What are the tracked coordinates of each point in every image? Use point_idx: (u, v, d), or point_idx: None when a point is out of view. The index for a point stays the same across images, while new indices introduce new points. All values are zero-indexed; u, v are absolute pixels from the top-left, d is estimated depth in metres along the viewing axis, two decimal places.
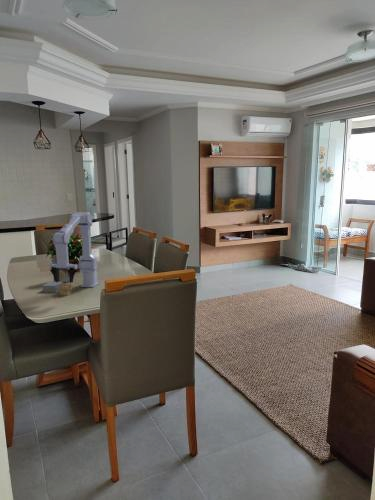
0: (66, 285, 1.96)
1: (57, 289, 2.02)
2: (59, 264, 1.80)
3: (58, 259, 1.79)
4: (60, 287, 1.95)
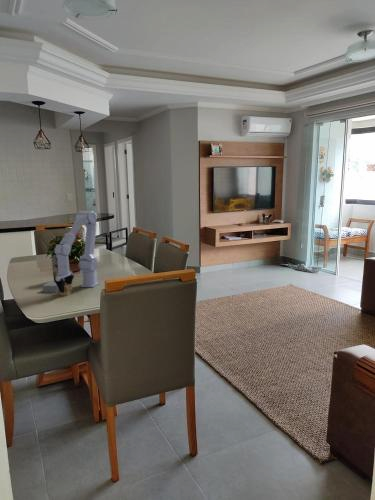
0: (66, 285, 1.96)
1: (57, 289, 2.02)
2: None
3: None
4: None
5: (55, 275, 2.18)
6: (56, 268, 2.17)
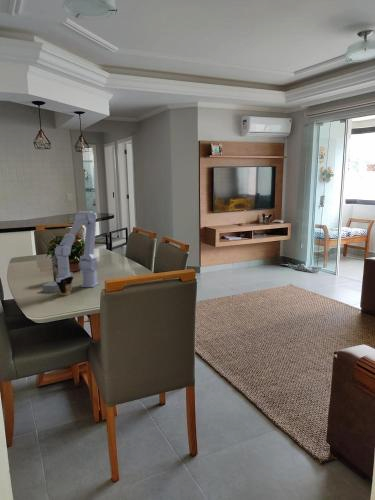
0: (66, 285, 1.96)
1: (56, 289, 2.02)
2: None
3: None
4: None
5: (55, 275, 2.18)
6: (56, 268, 2.17)
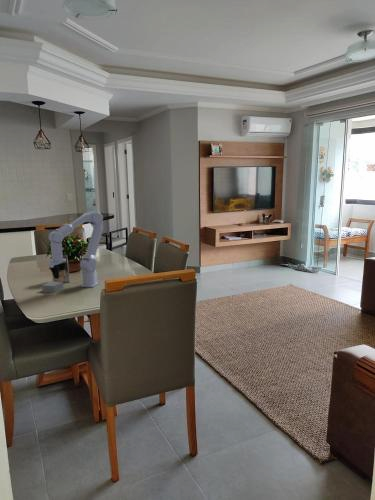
0: (59, 271, 1.98)
1: (56, 289, 2.02)
2: None
3: None
4: None
5: None
6: None
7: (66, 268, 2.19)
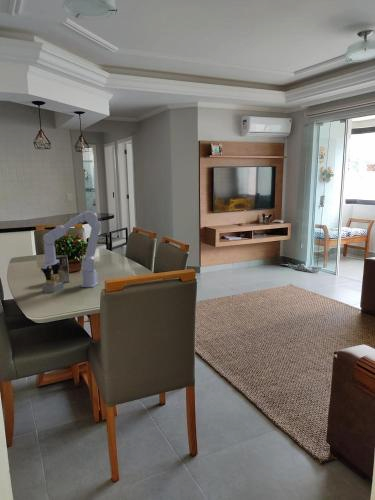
0: (53, 275, 2.04)
1: (56, 289, 2.02)
2: None
3: None
4: None
5: None
6: None
7: (66, 268, 2.19)
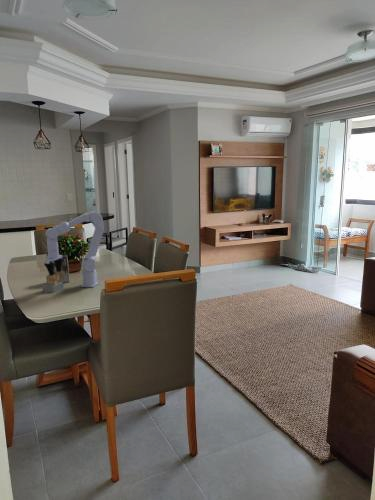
0: (53, 275, 2.04)
1: (56, 289, 2.01)
2: None
3: None
4: (47, 277, 2.02)
5: None
6: None
7: (66, 268, 2.19)
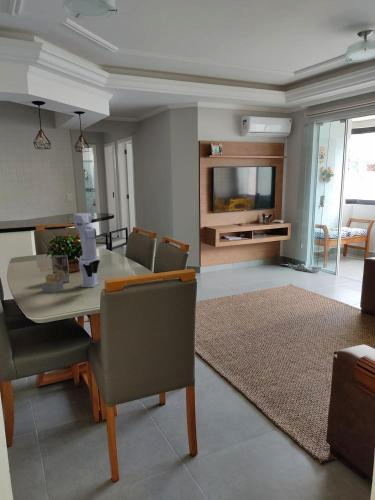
0: (53, 275, 2.04)
1: (55, 290, 2.01)
2: None
3: None
4: (47, 277, 2.02)
5: None
6: (56, 268, 2.17)
7: (66, 268, 2.19)
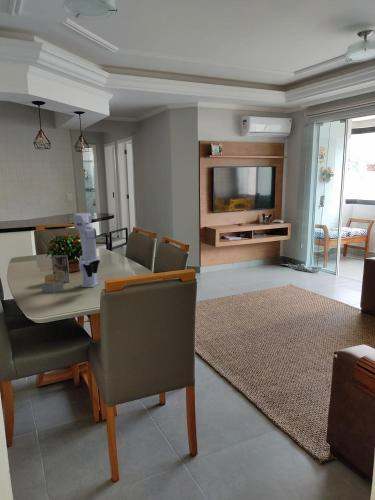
0: (52, 275, 2.03)
1: (55, 290, 2.01)
2: None
3: None
4: (46, 277, 2.01)
5: None
6: (56, 268, 2.17)
7: (66, 268, 2.19)
